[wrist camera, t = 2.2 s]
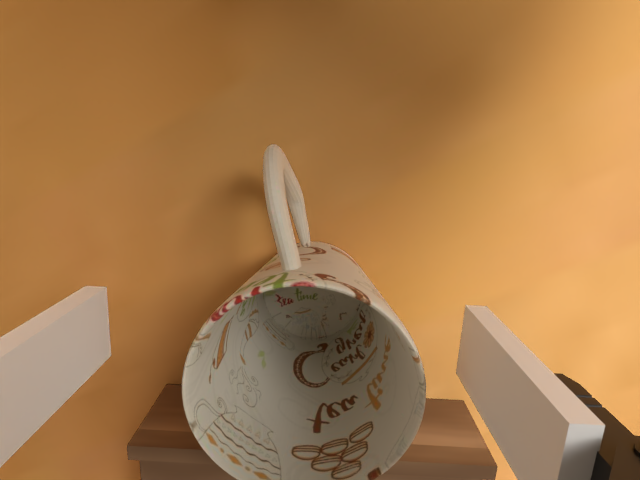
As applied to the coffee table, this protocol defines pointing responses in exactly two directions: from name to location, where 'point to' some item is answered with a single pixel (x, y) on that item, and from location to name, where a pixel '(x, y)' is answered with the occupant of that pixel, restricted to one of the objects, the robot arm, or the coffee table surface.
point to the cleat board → (404, 476)
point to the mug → (303, 362)
